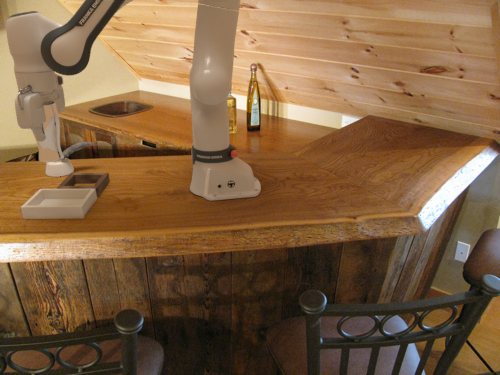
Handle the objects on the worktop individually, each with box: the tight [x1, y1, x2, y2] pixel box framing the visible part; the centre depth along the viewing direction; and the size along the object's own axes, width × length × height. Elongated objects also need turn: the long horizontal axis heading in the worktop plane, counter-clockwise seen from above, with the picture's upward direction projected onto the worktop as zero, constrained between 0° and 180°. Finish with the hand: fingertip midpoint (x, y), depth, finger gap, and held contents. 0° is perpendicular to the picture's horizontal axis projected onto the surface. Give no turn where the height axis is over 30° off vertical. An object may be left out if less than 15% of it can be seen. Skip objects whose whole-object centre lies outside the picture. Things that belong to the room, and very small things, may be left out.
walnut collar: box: [55, 172, 110, 198], centre depth 126 cm, size 12×12×3 cm
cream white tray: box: [20, 188, 98, 220], centre depth 114 cm, size 16×12×4 cm
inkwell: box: [45, 141, 98, 178], centre depth 139 cm, size 9×18×10 cm, turn 114°
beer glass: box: [31, 101, 64, 163], centre depth 105 cm, size 7×7×15 cm
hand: (47, 136), depth 106 cm, fingers closed on beer glass, 6 cm apart
